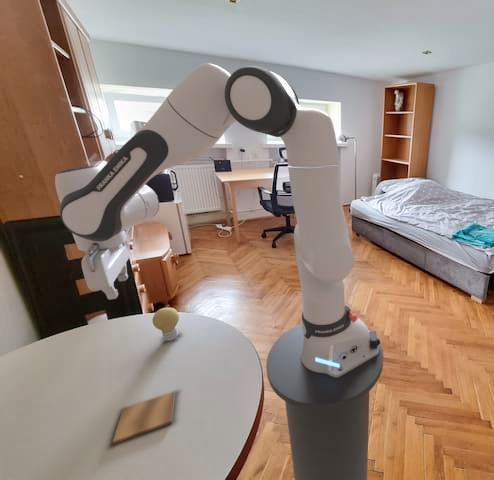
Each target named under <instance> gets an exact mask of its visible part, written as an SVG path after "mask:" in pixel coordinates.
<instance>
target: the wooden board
mask: <svg viewBox="0 0 494 480" xmlns="http://www.w3.org/2000/svg"><path fill="white" fill-rule="evenodd" d="M175 400H176V392H175V391H173V392H171V393H167V394H165V395H161V396H158V397H156V398H152V399H149V400H146V401H142V402H139V403H136V404H133V405H130V406H127V407H124V408H122V410H121V413H120V416H119V419H118V422H117V426H116V429H115V432H114V436H113V439H112V444H117V443H120V442H122V441H125V440H127V439H130V438H131V439H132V438H133V437H137V436H139V435H141V434H145V433H147V432H151V431H153V430H155V429H159V428H161V427H164V426H167V425H169V424H172V423H173V417H174V408H175Z"/></svg>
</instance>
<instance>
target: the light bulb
mask: <svg viewBox="0 0 494 480" xmlns="http://www.w3.org/2000/svg"><path fill="white" fill-rule="evenodd" d="M179 320H180V314H179V312H178V310H177V309H175V308H174V307H162V308H160V309H158V310H157V311H156V312H154V314H153V316H152V320H151V321H152V325H153V326H154V327H155V328H156V329H157V330H159V331H161V335H162V337H163V340H164V341H168V342H170V341H173V340H175V339H176V338H177V337H179V331H178V328H177V325H178V323H179Z"/></svg>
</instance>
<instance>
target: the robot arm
mask: <svg viewBox="0 0 494 480" xmlns="http://www.w3.org/2000/svg"><path fill="white" fill-rule="evenodd" d="M236 122H237V123H239V124H240V125H241V126H243V127H245V128H246V129H248V130H251V131H253V132H256V133H260V134H264V135H269V136H271V137H275V138H281V140H282V142H283V144H284V148H285V152H286V160H287V168H288V177H289V185H290V193H291V200H292V201H291V202H292V206H293V210H294V215H295V218H296V224H295V227H294V229H293V230H294V231H293V242H294V243H293V244H294V251H295V252H294V253H295V258H296V265H297V273H298V278H299V284H300V291H301V301H302V302H301V303H302V312H301V323H302V330H303V334H304V341H303V348H302V351H301V361H302V363H303V364H304V366H305V367H306V368H308V369H309V370H311V371H314V372H318V373H325V374H328V375H330V376H332V377H335V378H338V377H340V376H342V375H344V374H345V373H347V372H349V371H350V370H352V369H354V368H356V367H357V366H359V365H361V364H362V363H364V362H366V361H368V360H369V359H371V358H373V357H374V356H376V355H378V354H379V344H381V340H380V339H379V338H378V336H377V331H376V330H370V329H369V328H368V327H367V325H366V324H365V322H364V321H363V320H362V319H361V318H359V317H358V315H357V314H356V312H354V311H352V309H351V308H350V306H348V305H347V304H345V283H344V279H346V278H347V277H348V276H349V275H350V274H351V273H352V271H353V269H354V266H355V254H354V251H353V248H352V246H351V240H350V236H349V230H348V229H349V228H348V224H347V220H346V216H345V211H344V205H343V199H342V190H341V189H342V188H341V173H340V157H339V156H340V155H339V148H338V142H337V137H336V132H335V127H334V123H333V120H332V118H331V117H330V116H329V114H328V113H326V112H325V111H323V110H320V109H317V108H314V107H303V106H301V105H300V101H299V98H298V95H297V92H296V91H295V90H294V88H293V87H292V86H291V85H290V84H289V83H288V82H287V81H286V80H285V79H284V78H283V77H281V75H279V74H277V73H275V72H273V71H270V70H269V69H267V68H265V67H262V66H259V65H258V66H257V65H247V66H243V67H240V68H238V69H236V70H234V72H232V73H230V72H228V71H227V70H226V69H225V68H223V67H221V66H219V65H216V64H214V63H209V62H205V63H201V64H198V65H197V66H196V67H195V68H193V69H192V70H191V71H190V72H188V74H186V75H185V76H184V77H183V78H182V79H181V80H180V81H179V82H178V83H177V84H176V85H175V86H174V88H173V89H172V90H171V92H170V93H169V94H168V95H167V97H166V98H165V100H163V102H162V103H161V105H160V106H159V107H158V109H156V111H155V112H154V114H153V115H152V116H151V117H150V118H149V119H148V120H147V122H146V123H145V124H144V125H143V126H142V127H141V128H140V129H139V130H138V131H137V132H136V133H135V134H134V135H133V136H132V137H131V138H130V139H129V140H128V141H126V142H125V144H123V146H122V147H120V148H119V150H117V151H116V153H115V154H114V155H113V156H112V157H111V158H110V159H109V160H108V162H107V163H106V164H105V165H104V166H103V167H100V166H95V165H86V166H80V167H74V168H73V167H72V168H68V169H64V170H60V171H58V173H56V174H55V178H54V185H55V190H56V194H57V197H58V201H59V203H60V206H59V217H60V220H61V222H62V225H64V227H65V229H67V230H68V231H69V232H70V233H71V234H72V237H73V239H74V242H75V245H76V247H77V249H78V250H79V251H82V252H85V256H83V258H82V259H81V262H80V263H81V270H82V273H83V277H84V280H85V283H86V286H87V288H88V289H89V290H90V291H92V292H97V291H102V292H103V293H104V294H105V296H106V298H107V300H116V299H117V298H118V297H119V291H118V289H117V288H115V283H114V282H115V281H116V280H118V282H126V281H127V280H128V278H129V275H128V268H127V262H128V260H129V259H130V257H131V247H130V242H129V239H128V235H127V234H128V230H129V229H131V228H133V227H136V226H138V225H140V224H142V223H144V222H146V221H148V220H151V219H152V218H153V217H155V216H156V215H157V214H158V212H159V210H160V200H159V198H158V195H157V193H156V192H155V190H154V189H153V188H152V187H151V186H149V185H148V184H147V183H148V182H149V181H150V180H151V179H153V178H154V177H155V176H157V175H158V174H161V173H162V172H164V171H167V170H168V169H171V168H173V167H176V166H179V165H182V164H184V163H188V162H190V161H193V160H196V159H199V158H200V157H201V156H203V155H204V154H206V153H207V152H208V151H209V150H210V149H212V148H213V147H214V146H215V145H216V144H217V143H218V141H219V140H221V138H222V137H223V135H224V134H225V133H226V131H227V130H228V129H229V128H230V127H231V126H232V125H233V124H235V123H236ZM368 329H369V330H370V331H369V330H368ZM377 338H378V339H377ZM340 370H341V371H340Z"/></svg>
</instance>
